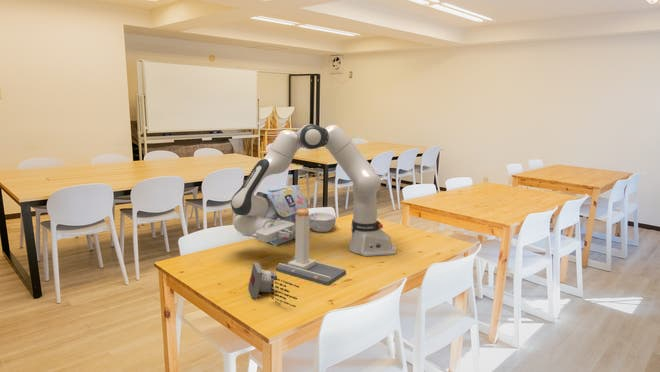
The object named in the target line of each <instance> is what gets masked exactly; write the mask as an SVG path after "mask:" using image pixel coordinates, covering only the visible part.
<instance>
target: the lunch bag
mask: <svg viewBox="0 0 660 372" xmlns="http://www.w3.org/2000/svg"><path fill="white" fill-rule="evenodd" d="M260 197H264V198H265V199H266V200H267V202H268V206H269V207H268V212H267V215H266V218H267V219H272V218H280V220H285V221H289V222H293V223H294V224H295V231H294V232H293V236H291V237H289V238H287V237H280V238H277V239H275V240H272V241H270V242H268V243H270V244H271V245H273V246H276V247H278V246H279V245H282V244H284V243H287V242H290V241H291V240H296V215H297V209H308V203H307V200H306V198H305V196H304V195H303V192H302V191H301V188H300V185H299V184H295V185H286V186H281V187H279V188H273V189H271V188H270V189H269V188H268V189H267V191H266V192H263V193H262V195H260ZM266 218H265V219H266Z"/></svg>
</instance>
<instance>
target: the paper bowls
mask: <svg viewBox="0 0 660 372" xmlns="http://www.w3.org/2000/svg"><path fill="white" fill-rule="evenodd" d="M309 215H310V218H309V228H311V230H312V231H314V232H316V233H328V232H329V231H331V230H332V228H334V227H336V220H337V218H336V215H334V214H333V213H328V212H322V211H321V212H318V211H317V212H313V213H309Z"/></svg>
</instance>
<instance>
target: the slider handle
mask: <svg viewBox="0 0 660 372" xmlns="http://www.w3.org/2000/svg"><path fill="white" fill-rule="evenodd" d="M309 212H310V211H309V209H308V208H306V209H297V215H296V238H295V239H294V240H295V244H294V245H295V250H294V251H295V253H294V254H295V255H294V256H295V259H294V260H292V259H291V260H292V261H290V260H289V261H290V262H288V261H287V262H288V265H289V266H293V267H296V268H300V269H303V270H307V269H309V268H311V267H312V266H314V265H316V260H315V259H312V258H310V226H309V218H310V215H309V214H310V213H309Z"/></svg>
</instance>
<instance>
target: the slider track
mask: <svg viewBox="0 0 660 372" xmlns="http://www.w3.org/2000/svg"><path fill="white" fill-rule="evenodd" d="M294 259H295V255H293V258H292V259H289V260H288V261H286V262H285V263H284V262H283V263H281V262H279V263H278V265H277V267H276V268H275V271H276V272H279V273H283V274H286V275H290V276H292V277H293V276H294V277H297V278H300V279H303V280H306V281H310V282H313V283H317V284H320V285H323V286H330V285H332V283H335V282H336V281H337V280H339V279H341V278H342V277H343V276H345V275H346V274H347V270H346V269H345V268H343V267H338V266H336V265H331V264H328V263H325V262H320V261H316V265H314V266H312V267H311V268H309V269H307V270H303V269H300V268H296V267H293V266H289V265H288V262H290V261H292V260H294Z"/></svg>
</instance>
